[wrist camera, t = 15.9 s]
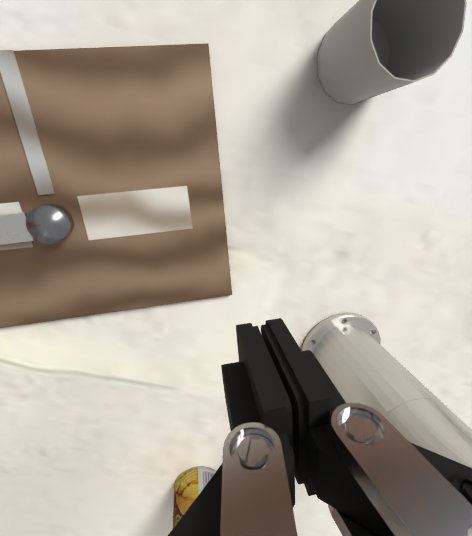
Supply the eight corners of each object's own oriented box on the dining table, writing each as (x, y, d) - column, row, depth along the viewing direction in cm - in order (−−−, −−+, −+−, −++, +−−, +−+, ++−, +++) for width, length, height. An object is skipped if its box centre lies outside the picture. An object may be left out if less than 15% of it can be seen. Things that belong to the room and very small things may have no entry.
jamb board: (231, 292, 40) (234, 301, 37) (-81, 337, 35) (-101, 350, 33) (207, 45, 30) (209, 35, 28) (-228, 62, 25) (-272, 51, 23)
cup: (302, 73, 32) (349, 36, 23) (346, -4, 31) (416, -77, 21) (357, 119, 35) (420, 102, 26) (401, 50, 33) (485, 6, 24)
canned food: (166, 493, 50) (160, 587, 39) (188, 461, 49) (188, 549, 38) (206, 502, 53) (211, 593, 42) (228, 472, 51) (240, 558, 40)
